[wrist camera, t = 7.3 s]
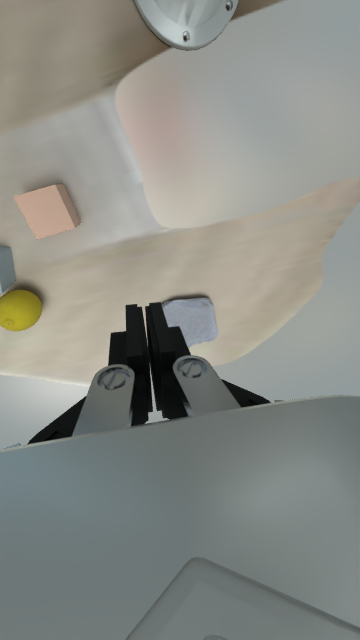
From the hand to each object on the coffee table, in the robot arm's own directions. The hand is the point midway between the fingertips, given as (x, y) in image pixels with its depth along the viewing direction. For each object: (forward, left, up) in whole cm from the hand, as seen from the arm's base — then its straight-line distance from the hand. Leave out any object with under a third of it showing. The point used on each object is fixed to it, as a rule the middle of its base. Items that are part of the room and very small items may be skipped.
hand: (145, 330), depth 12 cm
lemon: (+10, -17, -29) cm, 35 cm away
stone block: (+16, +9, -30) cm, 35 cm away
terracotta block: (-3, -10, -29) cm, 31 cm away
